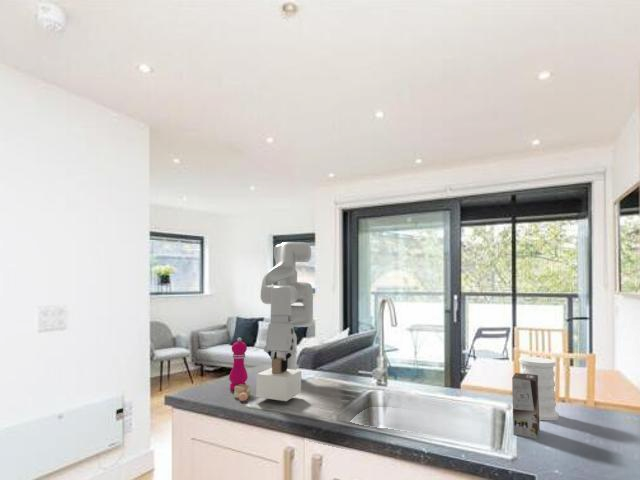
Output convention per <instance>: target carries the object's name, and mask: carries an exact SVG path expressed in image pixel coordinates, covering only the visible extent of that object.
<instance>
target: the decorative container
mask: <svg viewBox="0 0 640 480" xmlns="http://www.w3.org/2000/svg"><path fill="white" fill-rule="evenodd" d="M518 363H520V364H521V367H520V373H521V374H533V375H538V398H539V421H541V420H555V421H558V420H559V419H560V417H559V416H560V414H559V412H557V411H556V405H557V402H556V400H555V397H556V391H555V386H556V382H555V380H554V379H555V375H556V372H555V370H554V367H556V365H557V362H556V360H554V359H552V358H546V357H541V356H540V357H538V356H520V357H519V359H518ZM557 419H558V420H557Z"/></svg>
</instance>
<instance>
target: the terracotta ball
mask: <svg viewBox="0 0 640 480" xmlns="http://www.w3.org/2000/svg"><path fill="white" fill-rule="evenodd" d="M248 397H249V396H247V394H246V393H245V392H243V393H241V394H240V395H239V398H238V399H239V401H241V402H246V401H247V399H248Z"/></svg>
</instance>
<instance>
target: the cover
mask: <svg viewBox="0 0 640 480" xmlns="http://www.w3.org/2000/svg"><path fill="white" fill-rule="evenodd" d="M282 360H283V357H281V356H280V357H277V358H274V359H271V367H270V368H268V369H266V370H263V371H260V372H258V373H256V384H255V385H256V387H255V389H256V390H255V391H256V392H255V393H256V394H255V397H256V398H261V399H270V400H275V401H281V402H288V401H289V400H290V399H293V398H294V397H296V396H297V395H299V394H301V393H302V370H300V369H296V370H293V369H287V370H286V371H284V372H282V371H281V368H282Z"/></svg>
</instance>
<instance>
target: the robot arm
mask: <svg viewBox="0 0 640 480" xmlns="http://www.w3.org/2000/svg"><path fill="white" fill-rule="evenodd" d="M273 257H274V261H275V265H274V267H272V268H271V269H270V270H269V271H268V272H267V273H265V275H264V276H263V278H262V282H261V285H260V287H261V288H260V300H261V302H262V303H263V304H265V305H270V320H269V321H270V322H269V323H268V327H267V331H266V337H265V338H266V339H265V341H266V342H265V343H266V344H265V346H264V347H263V352H265V353H266V354H267V355H268V356H269V357H270V360H272V359H274V358H277V357H280V356H281V357H283V360H282V368H281V371H282V372H284V371H286V370H287V369H293V370H298V369H299V367H300V366H299V364H297V353H298V351H297V348H298V347H297V346H298V345H297V343H298V340H297V339H298V337H297V334H296V332H295V328H307V327H311V325H312V324H313V321H314V289H313V286H312V284H311V283H309V282H306V281H305V282H302V281H298V271H297V269H296V263H309V261H311V257H312V248H311V245H310V243H308V242H303V241H302V242H301V241H297V242H296V241H285V242H282V243H279V244H276V245H274V247H273ZM275 283H278V284H275ZM296 303H297V304H302V305H293V304H296ZM294 327H295V328H294Z"/></svg>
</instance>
